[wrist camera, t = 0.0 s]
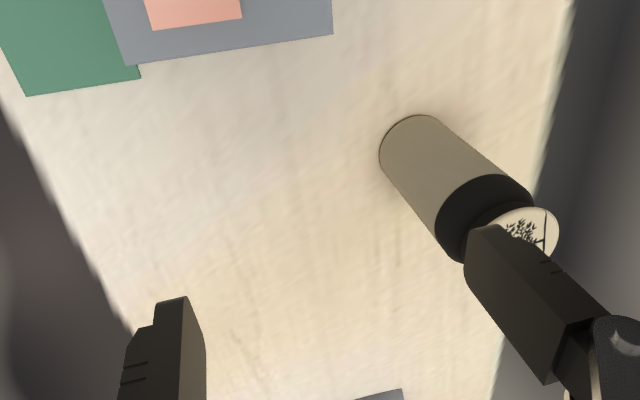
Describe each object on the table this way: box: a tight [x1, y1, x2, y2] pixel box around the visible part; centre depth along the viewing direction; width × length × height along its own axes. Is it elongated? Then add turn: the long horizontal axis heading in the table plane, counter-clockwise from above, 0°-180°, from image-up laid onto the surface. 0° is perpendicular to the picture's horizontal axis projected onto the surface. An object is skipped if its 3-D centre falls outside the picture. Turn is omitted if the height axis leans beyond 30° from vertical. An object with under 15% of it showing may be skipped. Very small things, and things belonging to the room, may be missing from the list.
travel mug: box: [379, 115, 559, 264], centre depth 38 cm, size 8×8×18 cm
